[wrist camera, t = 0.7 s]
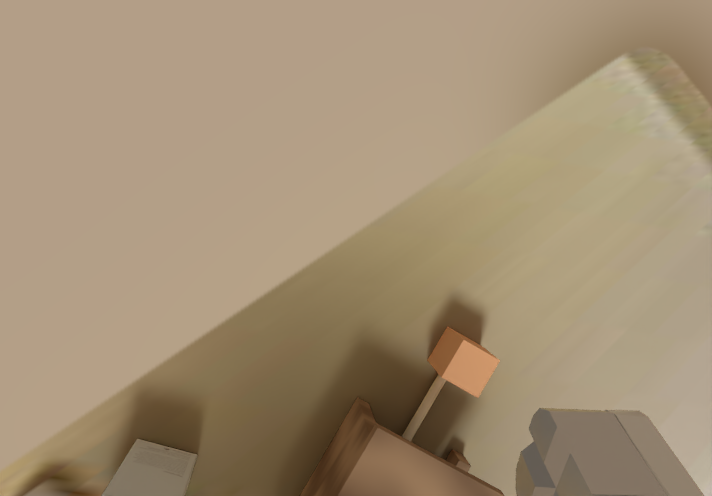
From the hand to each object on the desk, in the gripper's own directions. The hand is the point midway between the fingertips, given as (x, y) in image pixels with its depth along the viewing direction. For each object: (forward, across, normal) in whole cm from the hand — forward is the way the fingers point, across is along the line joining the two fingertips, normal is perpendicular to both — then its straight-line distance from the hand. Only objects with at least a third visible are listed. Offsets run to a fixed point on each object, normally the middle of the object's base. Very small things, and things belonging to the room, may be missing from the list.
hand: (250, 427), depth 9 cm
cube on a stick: (+36, +14, -34) cm, 51 cm away
